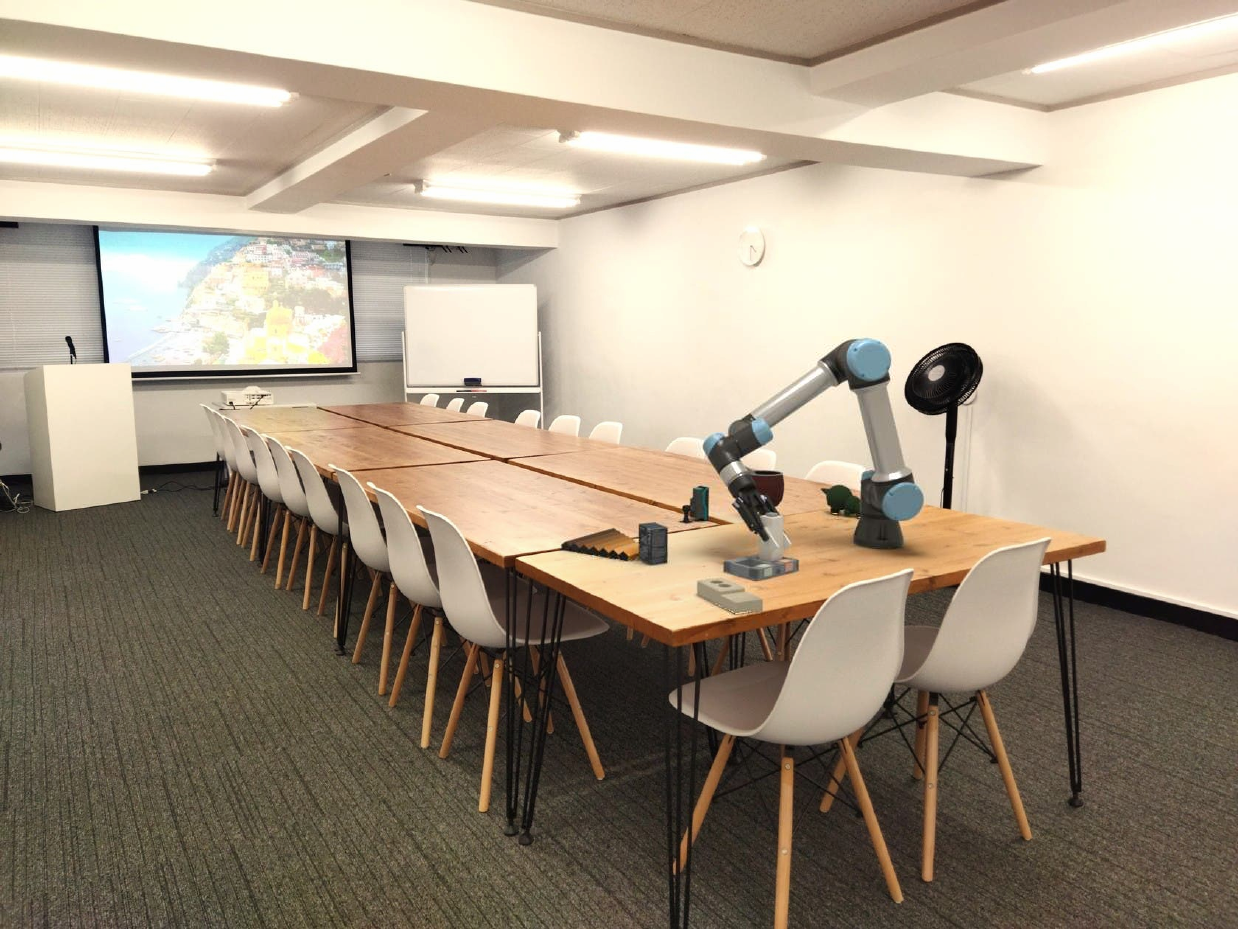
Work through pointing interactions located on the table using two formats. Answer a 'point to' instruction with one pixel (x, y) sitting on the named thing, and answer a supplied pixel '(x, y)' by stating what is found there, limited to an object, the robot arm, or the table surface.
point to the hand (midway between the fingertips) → (781, 548)
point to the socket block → (760, 567)
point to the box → (653, 543)
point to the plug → (776, 530)
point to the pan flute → (605, 545)
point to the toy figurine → (842, 500)
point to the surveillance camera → (697, 505)
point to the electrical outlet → (728, 595)
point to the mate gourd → (769, 484)
